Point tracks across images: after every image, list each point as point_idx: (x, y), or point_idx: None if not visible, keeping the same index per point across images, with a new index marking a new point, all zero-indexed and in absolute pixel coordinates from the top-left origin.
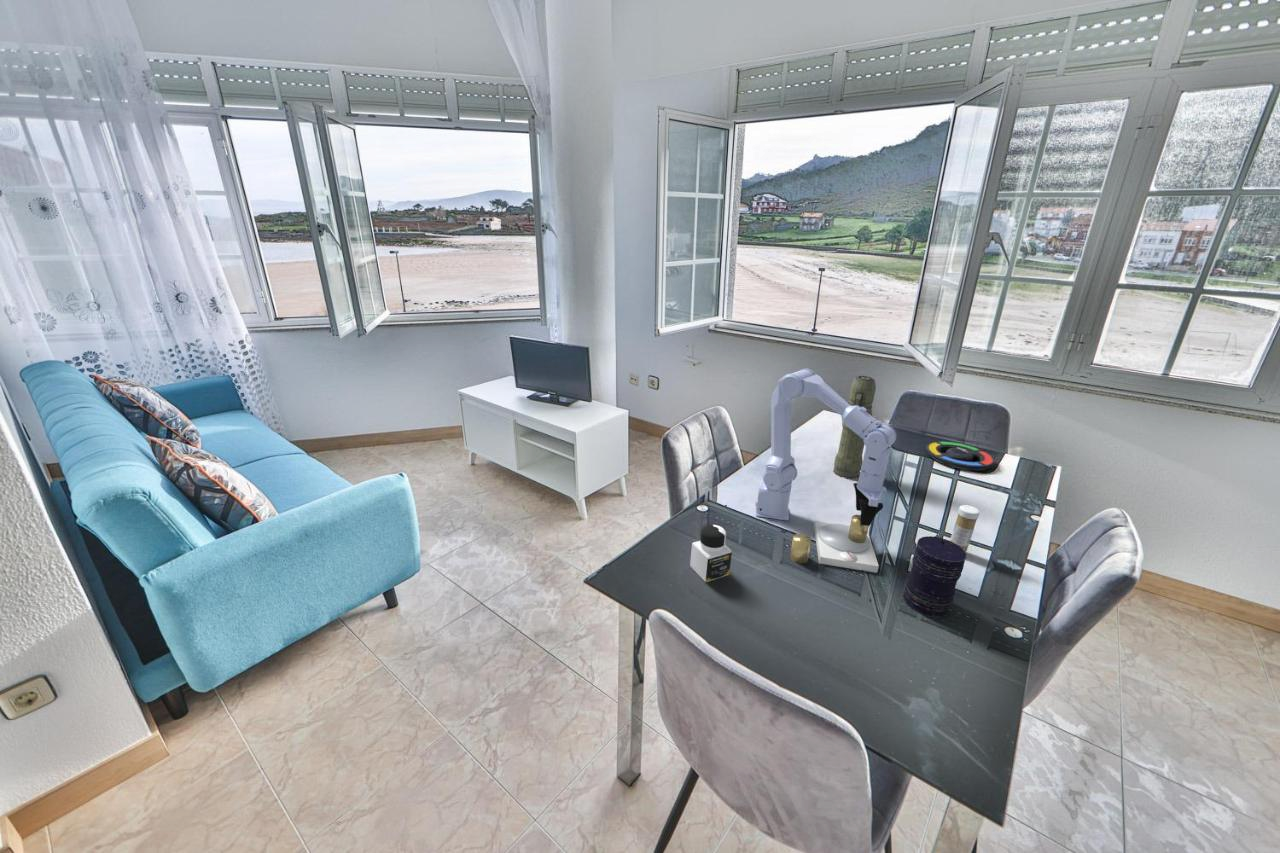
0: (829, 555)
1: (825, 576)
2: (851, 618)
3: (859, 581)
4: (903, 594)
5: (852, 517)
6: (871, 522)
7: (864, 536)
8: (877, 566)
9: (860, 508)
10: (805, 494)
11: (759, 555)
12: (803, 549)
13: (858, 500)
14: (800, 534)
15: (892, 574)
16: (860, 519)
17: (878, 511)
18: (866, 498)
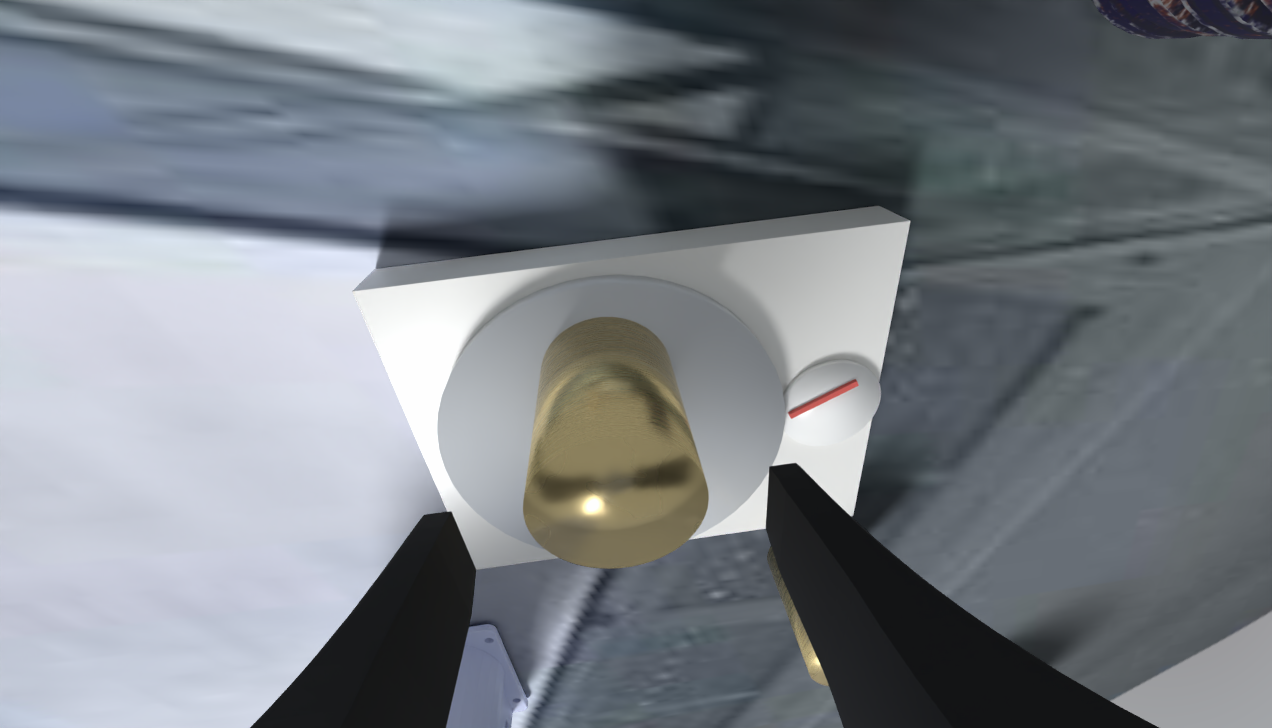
0: (830, 483)
1: (937, 454)
2: (1254, 344)
3: (973, 310)
4: (1161, 35)
5: (619, 565)
6: (820, 489)
7: (665, 367)
8: (905, 227)
9: (460, 572)
10: (85, 606)
11: None
12: None
13: (441, 706)
14: (819, 670)
15: (882, 89)
16: (785, 578)
17: (1067, 679)
18: (384, 711)
